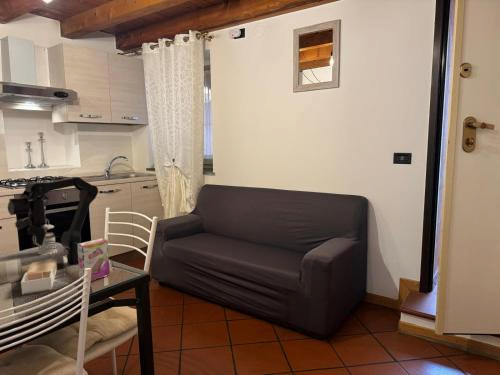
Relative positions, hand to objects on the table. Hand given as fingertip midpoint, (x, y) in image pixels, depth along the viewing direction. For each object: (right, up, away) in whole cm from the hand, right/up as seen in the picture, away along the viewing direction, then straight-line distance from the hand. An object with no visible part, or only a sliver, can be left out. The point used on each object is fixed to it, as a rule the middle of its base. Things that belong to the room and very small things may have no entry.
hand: (40, 245), depth 153 cm
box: (+7, -15, -13) cm, 21 cm away
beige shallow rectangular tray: (+1, -13, -1) cm, 13 cm away
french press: (-15, -9, +30) cm, 35 cm away
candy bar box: (+27, -14, -5) cm, 31 cm away
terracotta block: (+5, -12, -11) cm, 16 cm away
